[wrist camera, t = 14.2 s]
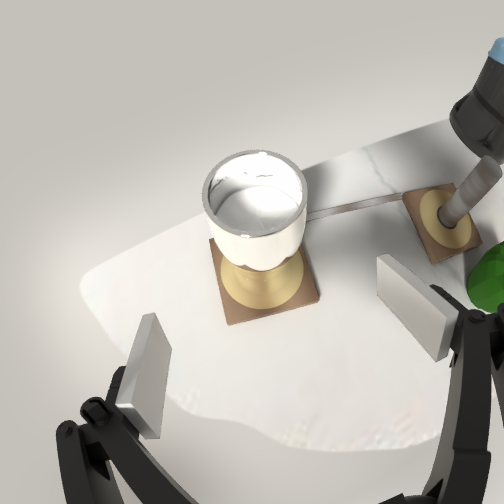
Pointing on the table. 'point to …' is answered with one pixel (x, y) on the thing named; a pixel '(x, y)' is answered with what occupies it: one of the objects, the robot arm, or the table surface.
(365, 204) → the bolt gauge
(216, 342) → the table surface
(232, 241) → the beer glass
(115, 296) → the table surface
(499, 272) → the bell pepper
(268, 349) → the table surface
